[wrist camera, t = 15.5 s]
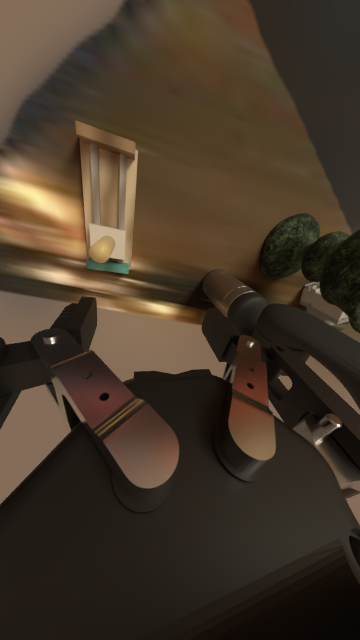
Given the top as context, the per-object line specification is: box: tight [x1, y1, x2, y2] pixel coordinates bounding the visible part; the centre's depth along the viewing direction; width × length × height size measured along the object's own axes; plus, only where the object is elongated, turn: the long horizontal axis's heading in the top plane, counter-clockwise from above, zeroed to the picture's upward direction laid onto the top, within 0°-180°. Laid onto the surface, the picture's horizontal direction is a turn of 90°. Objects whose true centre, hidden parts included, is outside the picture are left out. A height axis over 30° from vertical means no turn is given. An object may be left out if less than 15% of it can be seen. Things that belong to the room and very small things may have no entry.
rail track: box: [75, 120, 138, 274], centre depth 35 cm, size 10×23×6 cm, turn 168°
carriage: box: [89, 223, 126, 263], centre depth 32 cm, size 7×6×13 cm
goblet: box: [261, 214, 360, 333], centre depth 39 cm, size 22×22×30 cm
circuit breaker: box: [299, 282, 349, 325], centre depth 60 cm, size 8×14×15 cm, turn 11°
